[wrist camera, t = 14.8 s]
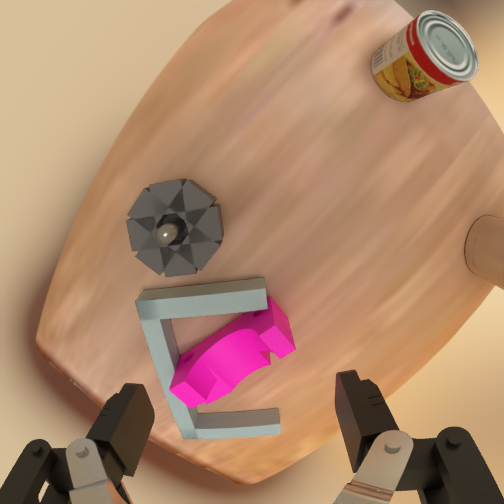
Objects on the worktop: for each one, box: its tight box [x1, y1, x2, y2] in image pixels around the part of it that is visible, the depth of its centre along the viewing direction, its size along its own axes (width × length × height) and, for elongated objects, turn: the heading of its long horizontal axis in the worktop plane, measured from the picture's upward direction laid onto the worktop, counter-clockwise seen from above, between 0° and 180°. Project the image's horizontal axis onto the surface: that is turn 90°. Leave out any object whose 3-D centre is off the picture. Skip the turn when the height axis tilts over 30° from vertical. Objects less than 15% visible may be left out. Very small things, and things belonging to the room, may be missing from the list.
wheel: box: [126, 179, 224, 277], centre depth 28 cm, size 9×9×2 cm
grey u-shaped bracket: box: [135, 278, 281, 439], centre depth 37 cm, size 15×24×4 cm, turn 7°
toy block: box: [169, 296, 296, 409], centre depth 34 cm, size 15×6×8 cm, turn 127°
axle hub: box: [155, 213, 188, 245], centre depth 29 cm, size 4×4×10 cm
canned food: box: [371, 10, 479, 102], centre depth 23 cm, size 8×8×12 cm
